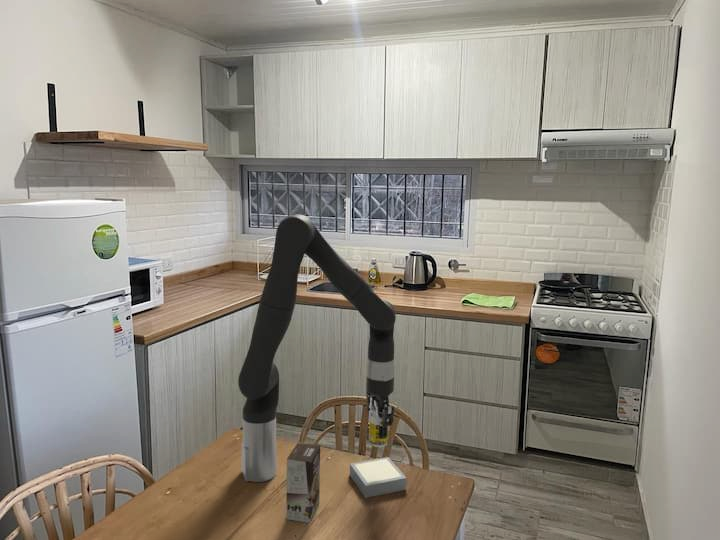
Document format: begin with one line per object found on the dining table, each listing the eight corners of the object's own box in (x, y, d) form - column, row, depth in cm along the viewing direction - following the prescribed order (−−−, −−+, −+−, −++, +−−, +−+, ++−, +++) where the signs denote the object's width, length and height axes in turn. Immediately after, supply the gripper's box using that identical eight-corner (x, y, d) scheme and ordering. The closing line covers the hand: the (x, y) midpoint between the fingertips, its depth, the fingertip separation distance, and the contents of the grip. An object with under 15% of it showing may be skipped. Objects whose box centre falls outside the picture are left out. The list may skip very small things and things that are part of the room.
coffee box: (310, 523, 132) (311, 462, 129) (285, 519, 133) (285, 458, 130) (320, 502, 141) (321, 444, 138) (297, 498, 142) (297, 441, 139)
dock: (365, 498, 143) (365, 485, 142) (349, 475, 154) (349, 463, 153) (406, 489, 147) (406, 477, 147) (387, 468, 158) (388, 456, 158)
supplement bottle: (374, 449, 145) (375, 415, 144) (365, 440, 150) (366, 407, 148) (391, 445, 148) (393, 411, 146) (382, 437, 152) (383, 404, 151)
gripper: (357, 367, 151) (356, 424, 154) (378, 385, 138) (376, 447, 140) (382, 364, 154) (380, 420, 156) (404, 382, 140) (402, 442, 143)
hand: (378, 432), depth 148 cm, fingers closed on supplement bottle, 5 cm apart
